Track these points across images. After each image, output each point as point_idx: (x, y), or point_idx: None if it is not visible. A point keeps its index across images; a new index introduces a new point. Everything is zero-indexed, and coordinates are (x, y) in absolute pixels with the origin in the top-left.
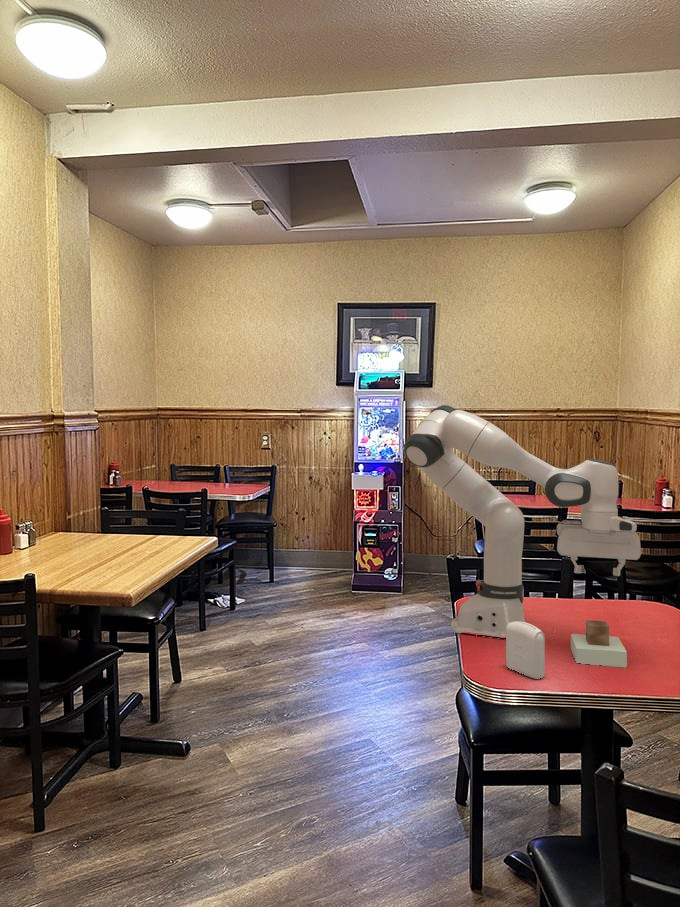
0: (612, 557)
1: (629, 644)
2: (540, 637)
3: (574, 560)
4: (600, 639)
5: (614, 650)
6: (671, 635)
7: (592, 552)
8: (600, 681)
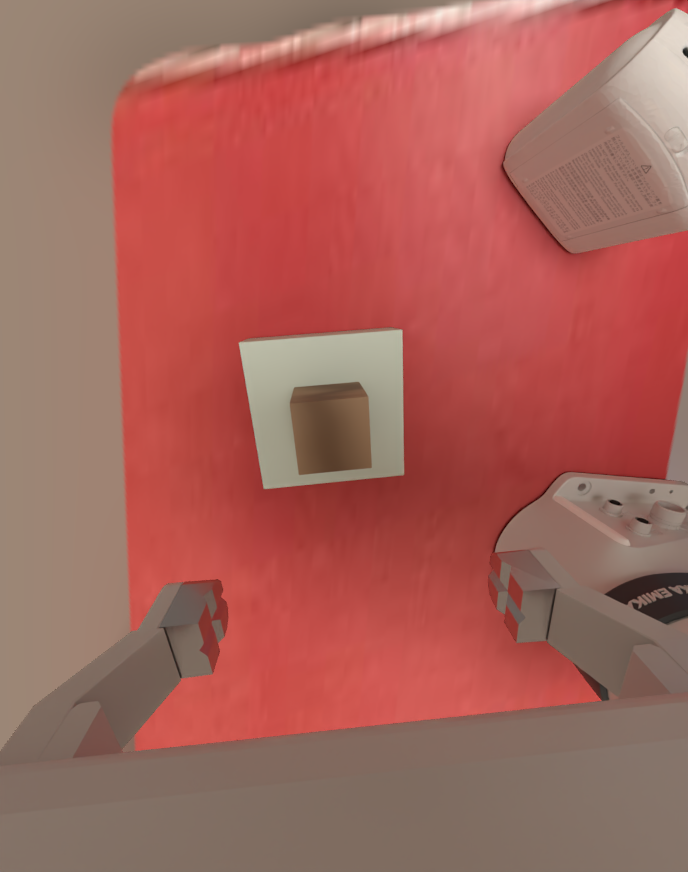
0: (158, 760)
1: (237, 534)
2: (634, 38)
3: (657, 639)
4: (322, 389)
5: (278, 345)
6: (133, 630)
7: (523, 811)
8: (331, 179)
